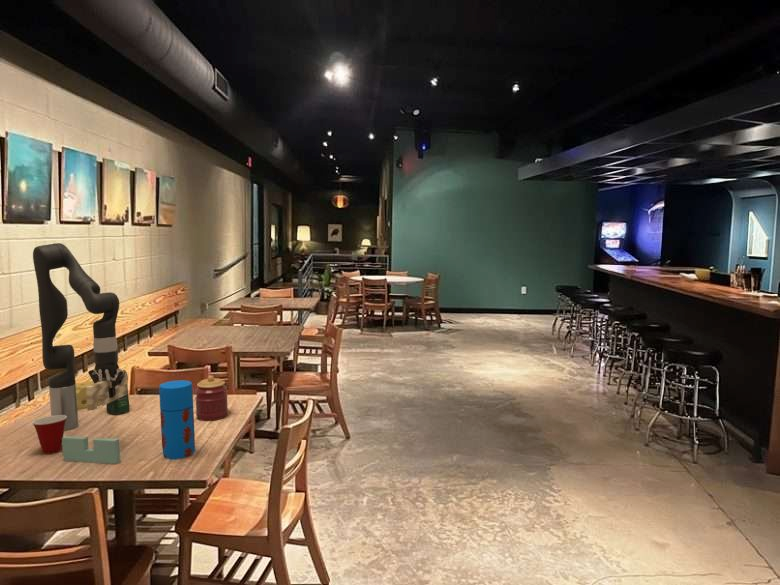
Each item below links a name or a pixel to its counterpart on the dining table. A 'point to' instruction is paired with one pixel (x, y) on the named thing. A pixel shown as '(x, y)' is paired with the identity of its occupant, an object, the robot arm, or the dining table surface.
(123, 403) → the coffee jar
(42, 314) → the robot arm
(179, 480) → the dining table surface
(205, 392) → the canister
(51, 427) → the plastic cup
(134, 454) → the dining table surface
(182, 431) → the thermos
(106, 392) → the brass bar
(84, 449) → the sage green notched block
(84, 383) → the cheese
